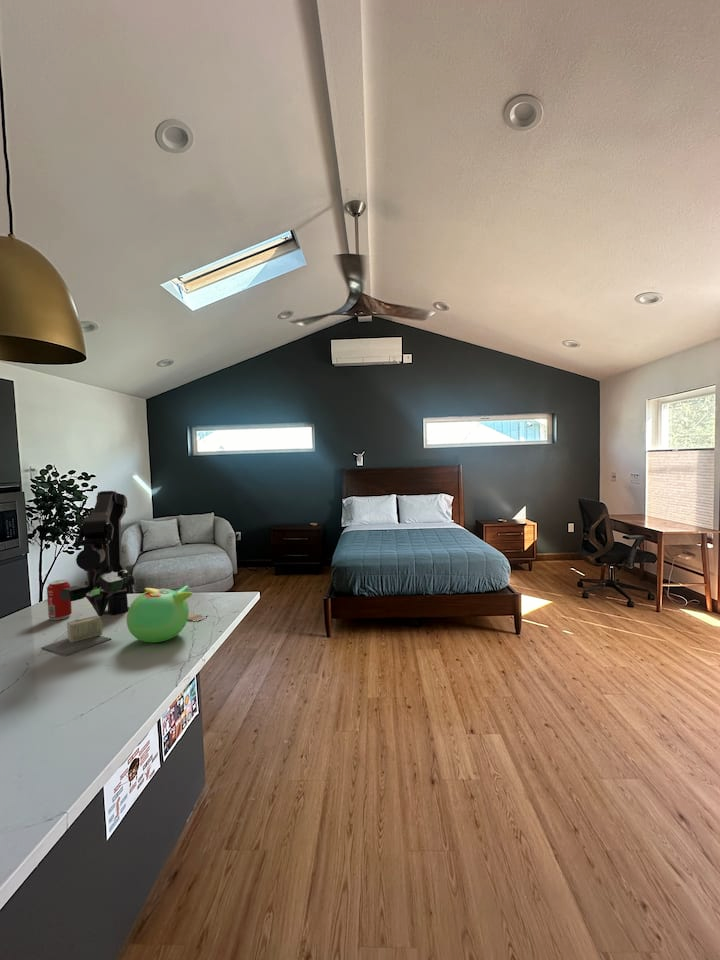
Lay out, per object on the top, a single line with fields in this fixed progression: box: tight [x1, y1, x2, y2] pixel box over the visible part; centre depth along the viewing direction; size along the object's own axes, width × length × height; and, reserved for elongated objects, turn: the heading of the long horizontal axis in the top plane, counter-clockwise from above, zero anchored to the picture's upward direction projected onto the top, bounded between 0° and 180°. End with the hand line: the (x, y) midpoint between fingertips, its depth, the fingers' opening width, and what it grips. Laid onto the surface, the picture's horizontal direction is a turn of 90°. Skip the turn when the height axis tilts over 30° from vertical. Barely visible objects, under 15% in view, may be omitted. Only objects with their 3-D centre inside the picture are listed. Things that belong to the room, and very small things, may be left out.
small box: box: [66, 614, 103, 643], centre depth 126 cm, size 5×4×8 cm
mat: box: [41, 635, 112, 657], centre depth 122 cm, size 12×12×1 cm
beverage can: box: [46, 579, 73, 621], centre depth 145 cm, size 6×6×12 cm
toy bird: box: [126, 585, 193, 644], centre depth 124 cm, size 18×17×15 cm
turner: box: [188, 613, 203, 622], centre depth 141 cm, size 14×5×1 cm, turn 76°
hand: (101, 616), depth 128 cm, fingers closed
